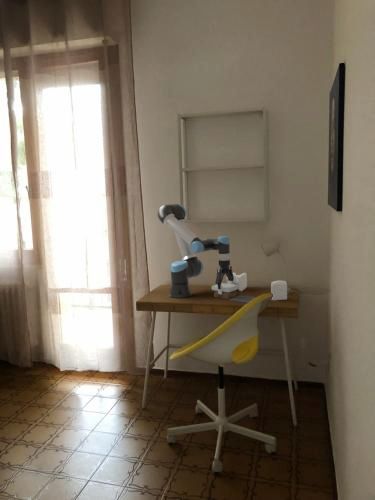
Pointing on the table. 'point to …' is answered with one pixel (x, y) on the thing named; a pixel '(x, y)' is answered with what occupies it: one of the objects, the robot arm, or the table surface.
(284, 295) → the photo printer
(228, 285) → the cover plate
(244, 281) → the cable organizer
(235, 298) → the rubber mat
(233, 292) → the walnut box
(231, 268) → the robot arm
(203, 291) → the table surface
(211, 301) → the table surface
